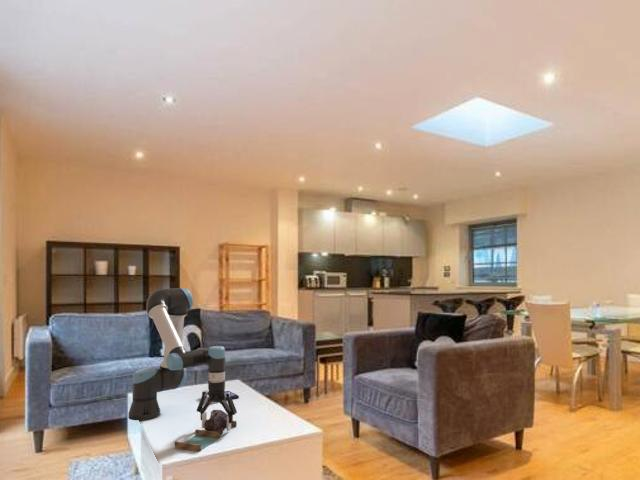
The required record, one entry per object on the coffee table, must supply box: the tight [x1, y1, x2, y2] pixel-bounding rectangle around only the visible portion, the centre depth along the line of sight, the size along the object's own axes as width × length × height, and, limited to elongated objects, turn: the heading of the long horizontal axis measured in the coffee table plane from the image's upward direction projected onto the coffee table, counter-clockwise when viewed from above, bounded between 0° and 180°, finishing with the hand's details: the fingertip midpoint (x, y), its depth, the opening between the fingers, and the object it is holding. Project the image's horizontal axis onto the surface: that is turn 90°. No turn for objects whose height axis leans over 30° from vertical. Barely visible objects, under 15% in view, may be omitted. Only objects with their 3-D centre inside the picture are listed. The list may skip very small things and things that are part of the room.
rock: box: [203, 409, 228, 435], centre depth 205 cm, size 12×9×10 cm
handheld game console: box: [207, 380, 240, 401], centre depth 261 cm, size 16×13×9 cm
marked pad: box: [183, 435, 219, 451], centre depth 191 cm, size 12×13×1 cm
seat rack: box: [174, 420, 238, 453], centre depth 199 cm, size 12×31×2 cm, turn 162°
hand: (216, 428), depth 206 cm, fingers closed on rock, 12 cm apart
